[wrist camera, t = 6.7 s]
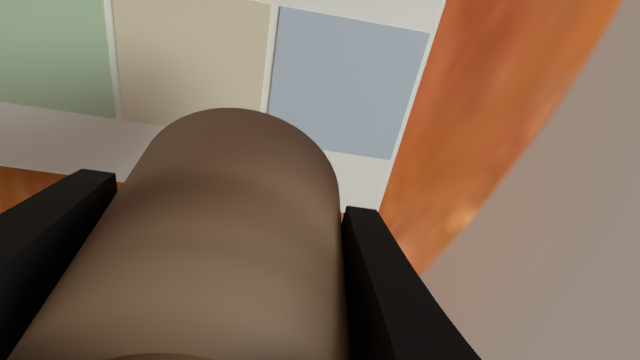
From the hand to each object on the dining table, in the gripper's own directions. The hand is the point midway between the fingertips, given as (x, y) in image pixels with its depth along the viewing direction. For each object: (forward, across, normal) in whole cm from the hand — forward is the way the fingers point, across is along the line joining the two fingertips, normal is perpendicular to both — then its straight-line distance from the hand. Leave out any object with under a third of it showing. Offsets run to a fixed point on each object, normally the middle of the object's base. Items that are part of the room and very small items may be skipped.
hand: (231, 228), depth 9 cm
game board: (+9, +3, 0) cm, 9 cm away
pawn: (+1, 0, 0) cm, 1 cm away
